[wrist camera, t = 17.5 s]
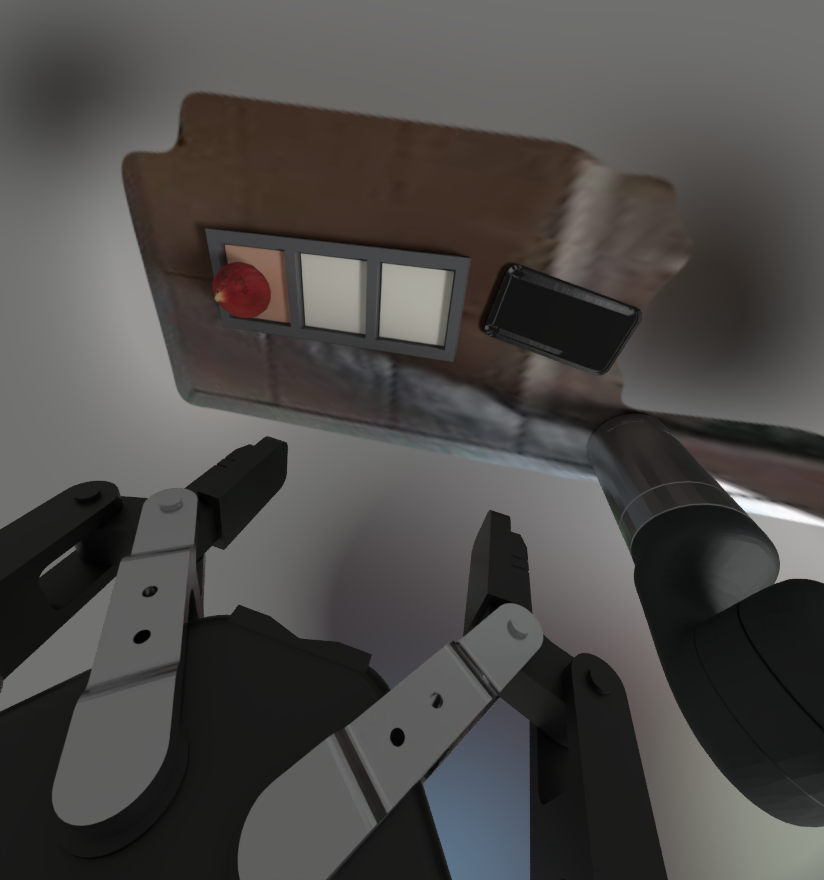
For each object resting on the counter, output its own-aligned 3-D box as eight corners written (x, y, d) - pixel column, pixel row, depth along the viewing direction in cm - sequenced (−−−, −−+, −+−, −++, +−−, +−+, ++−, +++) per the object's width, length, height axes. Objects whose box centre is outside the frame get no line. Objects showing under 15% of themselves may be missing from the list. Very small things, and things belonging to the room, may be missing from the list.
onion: (238, 255, 41) (187, 257, 34) (283, 267, 41) (240, 271, 34) (241, 306, 44) (194, 317, 37) (283, 317, 44) (243, 330, 37)
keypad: (471, 257, 37) (469, 258, 35) (455, 355, 43) (453, 362, 41) (220, 229, 42) (204, 228, 39) (235, 322, 47) (222, 326, 45)
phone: (511, 261, 36) (647, 311, 36) (511, 261, 37) (643, 309, 37) (481, 333, 40) (603, 379, 40) (481, 331, 41) (600, 376, 41)
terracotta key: (288, 251, 40) (287, 251, 40) (294, 322, 44) (293, 323, 44) (226, 244, 41) (224, 244, 41) (237, 314, 45) (235, 315, 45)
